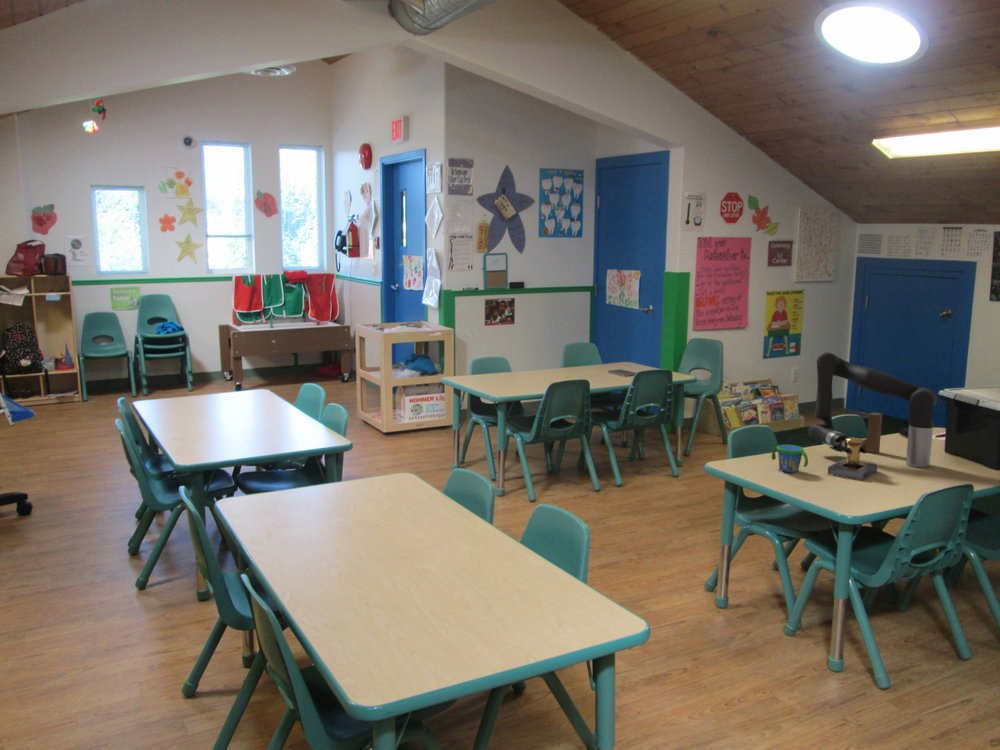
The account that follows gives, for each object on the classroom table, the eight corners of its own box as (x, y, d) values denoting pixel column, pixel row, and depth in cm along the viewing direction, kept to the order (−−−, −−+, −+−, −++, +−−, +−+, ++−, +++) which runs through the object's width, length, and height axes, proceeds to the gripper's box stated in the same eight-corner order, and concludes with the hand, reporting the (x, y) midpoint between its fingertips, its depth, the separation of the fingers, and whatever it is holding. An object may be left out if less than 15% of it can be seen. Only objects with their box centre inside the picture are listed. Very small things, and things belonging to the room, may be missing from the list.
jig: (842, 465, 364) (843, 458, 363) (876, 471, 355) (877, 464, 354) (827, 474, 350) (828, 467, 350) (862, 480, 341) (863, 473, 341)
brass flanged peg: (846, 469, 357) (848, 436, 355) (863, 472, 353) (865, 439, 351) (841, 472, 352) (843, 439, 350) (857, 475, 348) (859, 441, 346)
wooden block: (855, 450, 389) (858, 412, 386) (859, 448, 392) (862, 410, 389) (876, 453, 383) (879, 415, 380) (879, 452, 386) (882, 413, 383)
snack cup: (812, 473, 351) (814, 449, 350) (796, 477, 345) (798, 453, 344) (781, 464, 364) (782, 442, 362) (765, 468, 358) (766, 445, 356)
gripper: (822, 432, 364) (840, 442, 347) (854, 432, 365) (874, 442, 348) (821, 449, 365) (839, 460, 348) (853, 449, 366) (873, 459, 349)
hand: (857, 451), depth 348 cm, fingers open, 6 cm apart
